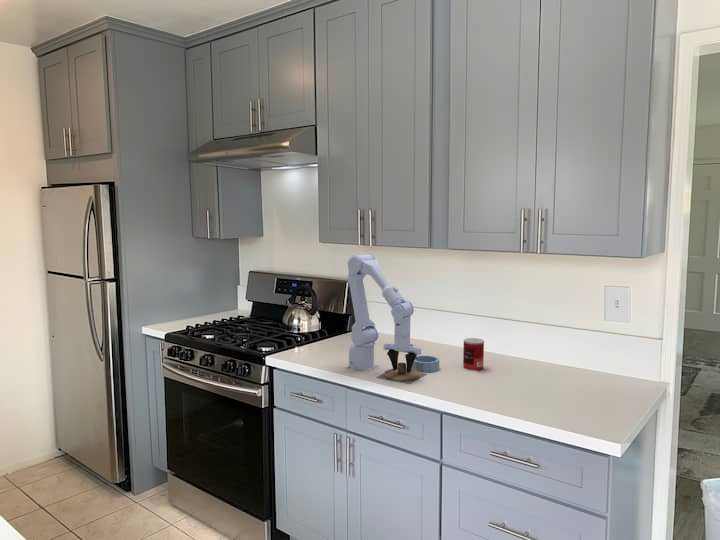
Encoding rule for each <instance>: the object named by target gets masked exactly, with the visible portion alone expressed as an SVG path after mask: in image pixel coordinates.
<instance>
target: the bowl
mask: <svg viewBox="0 0 720 540" xmlns="http://www.w3.org/2000/svg"><path fill="white" fill-rule="evenodd" d="M412 369H413V370H416V371H418V372H419V373H435V372H438V371H439V370H440V358H439V357H438V356H437V357H436V356H434V355H423V354H420V355H417V356H416V358H415V360H414V362H413V365H412Z"/></svg>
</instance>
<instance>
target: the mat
mask: <svg viewBox="0 0 720 540" xmlns="http://www.w3.org/2000/svg"><path fill="white" fill-rule="evenodd" d="M419 373H420V377H419V378H418V379H416V380H413V381H393V380H389V379H387V378H385V376H384V373H382V374H380V375H378V376H377V377H376V379H378V380H379V379H380V380H386V381H390V382H396V383H400V384H406V385H412V384H413V383H415V382H417V381H418V380H420V379H422V378H423V377H425V376H427V375H428V373H425V372H419Z"/></svg>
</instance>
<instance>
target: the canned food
mask: <svg viewBox="0 0 720 540" xmlns="http://www.w3.org/2000/svg"><path fill="white" fill-rule="evenodd" d="M484 351H485V341H484V339H482V338H477V337H469V338H465V339H463V351H462V352H463V354H462V355H463V358H462V359H463V360H462V361H463V363H462V365H463V368H464V369H466V370H469V371H470V370H471V371H472V370H473V371H481V370H483V367H484V358H485V357H484V356H485V355H484V353H485V352H484Z"/></svg>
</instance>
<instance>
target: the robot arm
mask: <svg viewBox="0 0 720 540" xmlns="http://www.w3.org/2000/svg"><path fill="white" fill-rule="evenodd" d="M347 269H348V274H347V278H348V284H349V290H350V291H349V292H350V295H351V301H352V308H353V315H354V320H355V322H354V323H353V325H352V326H351V342H352V344H351V345H350V346H349V348H348V349H349V350H348V366H347V367H348V368H349V367H350V368H349V369H356V370H362V371H368V372H369V371H371V370H373V369H375V368H377V367H378V366H379V364H375V345H376V342H377V341H378V339H379V332H378V329H377V328H376V323H375V322H374V321H372V320H371V319H370V315H369V314H370V313H369V309H368V308H369V307H368V304H367V303H368V302H367V296H366V292H365V291H366V289H365V285H364V284H365V283H364V278H365V277H366V276H367V275H368V276H370V277H371V278H372V279H373V280H374V281H375V284H377V285H378V287H379V288H380V289H381V290H382V292H381V295H382V297H383V298H384V300H385V301H386V302H387V304H388V306H389V307H390V308H391V310H390V313H391V315H392V318H393V322H394V336H393V337H394V343H385V344H383V350H384V351H387V350H388V351H387V352H386V354H387V356H388V358H389V360H390V363H391V366H392V369H393V370H394V371H395V370H397V368H398V363H399V354H400V352H401V353H406V354H405V355H404V358H405V363H406V368H407V373H410V372H411V369H412V365H413V362H414V360H415V358H416V356H420V355H422V348H419V347H415V346H413V345H412V346H410V344H411V317H412V315H413V314H414V312H415V311H414V310H415V309H414V305H413V304H412V302H410V300H409V301H408V300H406V299H405V297H403V296H402V294H401V293H400V291H399V288H398V287H397V286H395V285H391V284H390V282H389V281H388V280H387V278H386V276H385V274H384V273H383V271H382V270H381V268H380V267H379V261H378V259H376V257H375V255H373V253H372V254H371V253H367V254H359V255H356V254H355V255H352V256H351V257H350V258H349V260H348V261H347Z"/></svg>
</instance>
